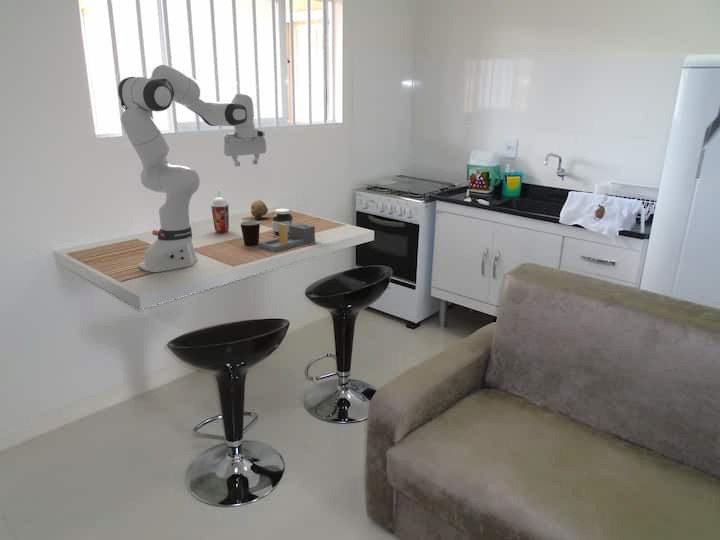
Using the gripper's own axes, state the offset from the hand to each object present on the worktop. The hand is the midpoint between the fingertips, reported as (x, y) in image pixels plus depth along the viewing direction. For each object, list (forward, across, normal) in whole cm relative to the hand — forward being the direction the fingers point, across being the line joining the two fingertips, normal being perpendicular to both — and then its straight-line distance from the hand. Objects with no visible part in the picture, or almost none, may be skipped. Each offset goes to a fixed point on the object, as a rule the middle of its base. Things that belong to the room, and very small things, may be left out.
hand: (246, 165), depth 237 cm
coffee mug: (+35, -1, -3) cm, 35 cm away
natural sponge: (+35, +32, +36) cm, 59 cm away
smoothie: (+35, +1, +26) cm, 44 cm away
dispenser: (+35, +9, -16) cm, 40 cm away
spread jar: (+35, +21, +3) cm, 41 cm away
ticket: (+34, +6, -16) cm, 38 cm away
